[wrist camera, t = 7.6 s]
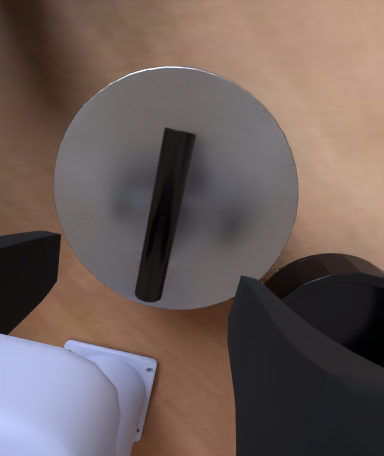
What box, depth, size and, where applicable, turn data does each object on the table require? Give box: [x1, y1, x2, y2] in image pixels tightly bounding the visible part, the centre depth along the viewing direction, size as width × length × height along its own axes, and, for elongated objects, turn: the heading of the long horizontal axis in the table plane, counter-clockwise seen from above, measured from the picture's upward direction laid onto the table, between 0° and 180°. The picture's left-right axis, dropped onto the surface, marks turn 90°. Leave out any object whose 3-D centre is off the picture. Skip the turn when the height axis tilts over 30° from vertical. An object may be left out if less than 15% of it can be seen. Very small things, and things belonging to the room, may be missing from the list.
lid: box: [54, 66, 298, 310], centre depth 14 cm, size 12×12×5 cm
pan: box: [264, 253, 384, 368], centre depth 22 cm, size 11×11×3 cm
